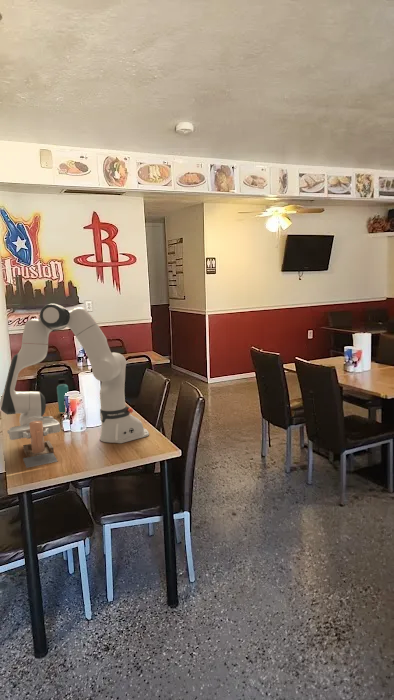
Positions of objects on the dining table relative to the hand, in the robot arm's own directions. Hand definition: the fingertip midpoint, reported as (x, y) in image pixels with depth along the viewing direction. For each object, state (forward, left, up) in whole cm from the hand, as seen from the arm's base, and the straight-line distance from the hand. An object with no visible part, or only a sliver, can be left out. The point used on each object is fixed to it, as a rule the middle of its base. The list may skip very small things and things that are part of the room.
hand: (37, 435), depth 187 cm
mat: (0, -1, -11) cm, 11 cm away
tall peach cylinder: (0, 0, -7) cm, 7 cm away
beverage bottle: (-23, -70, -11) cm, 74 cm away
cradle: (-1, -13, -11) cm, 17 cm away
